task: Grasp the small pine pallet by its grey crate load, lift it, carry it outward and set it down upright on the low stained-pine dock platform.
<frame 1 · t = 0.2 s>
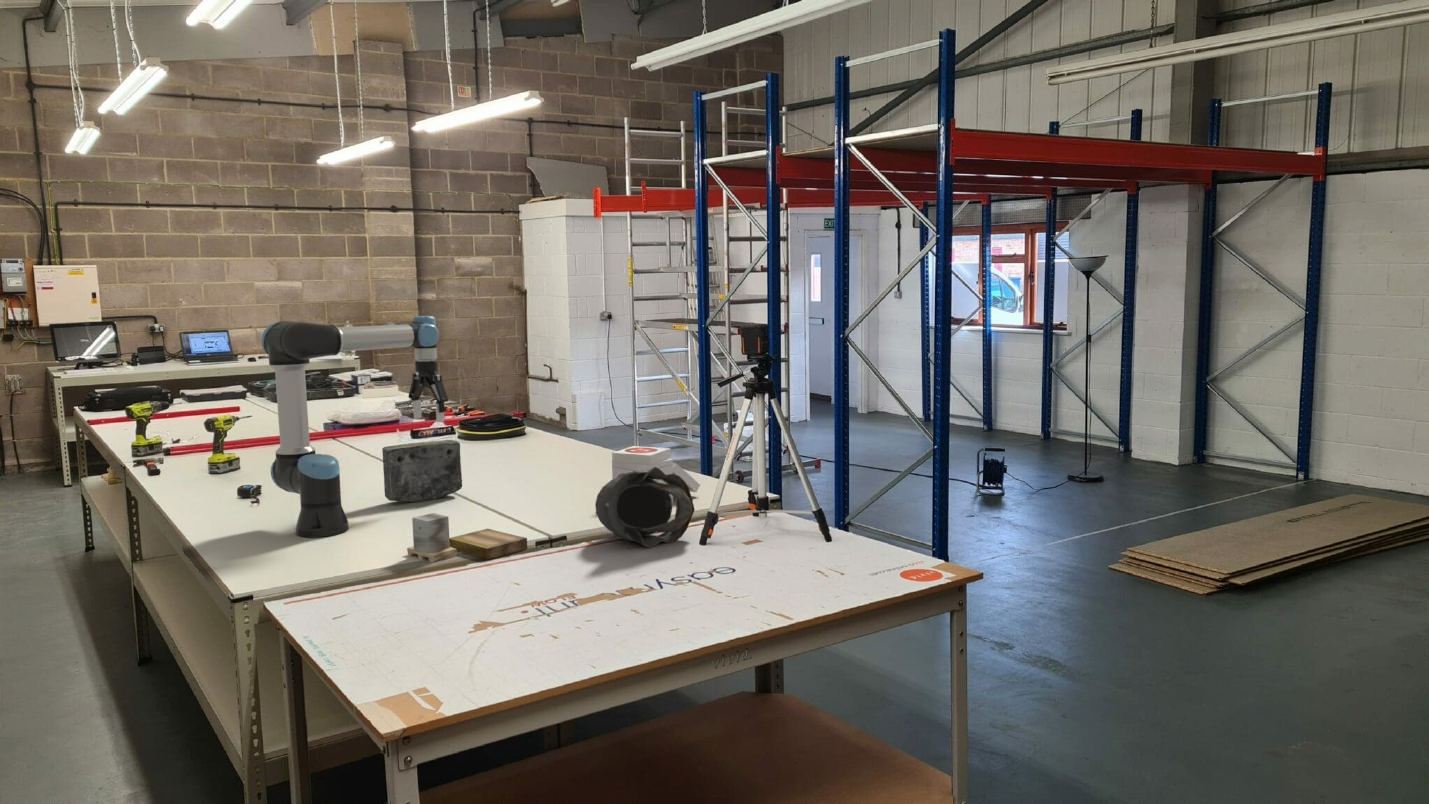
hand: (428, 420, 346), 28 cm above the table, fingers open, 13 cm apart
concrete block: (423, 500, 346), on the table
helmet: (640, 539, 291), on the table
pizza boxes: (654, 499, 344), on the table
dock: (488, 548, 282), on the table
loaded pallet: (432, 555, 276), on the table
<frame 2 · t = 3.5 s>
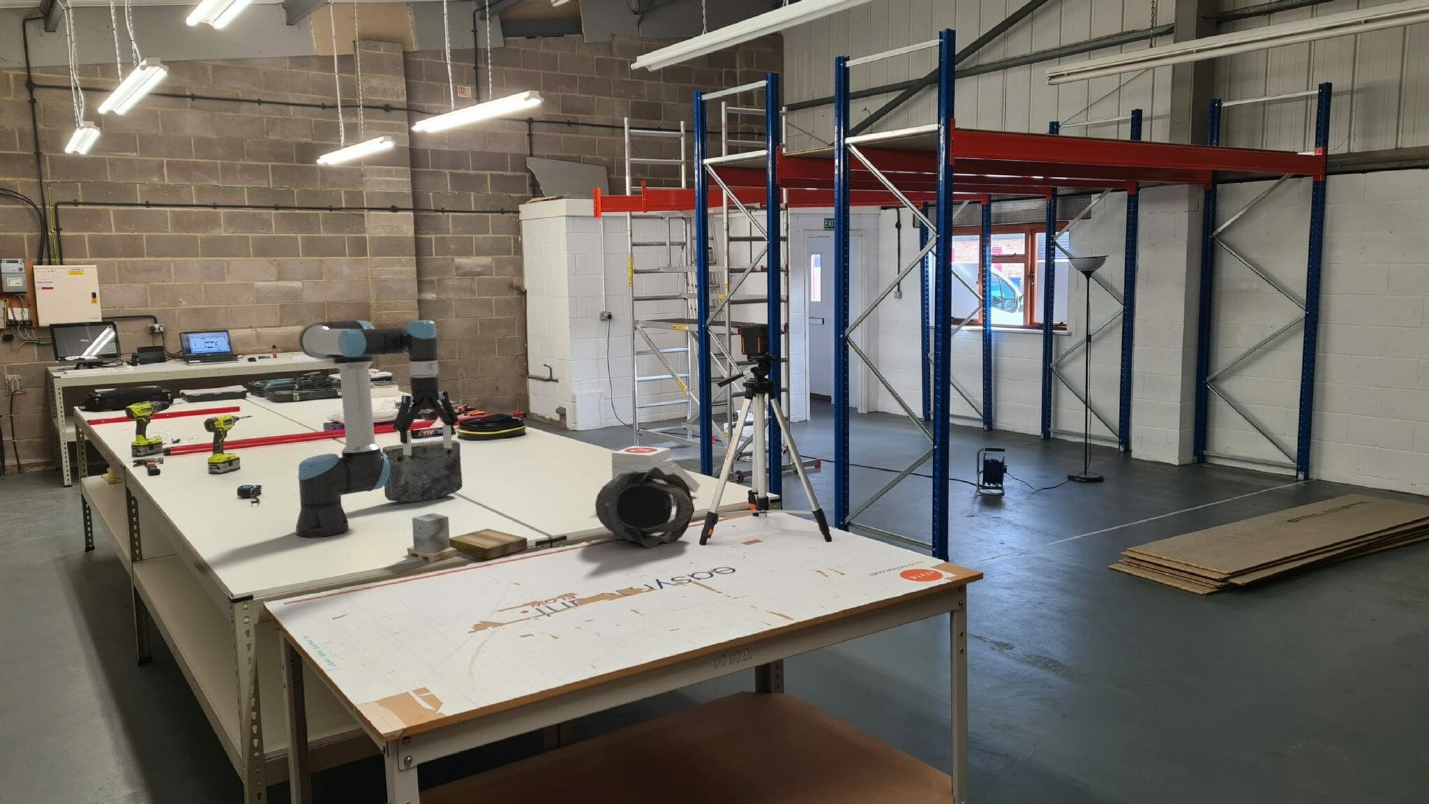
hand: (428, 451, 275), 29 cm above the table, fingers open, 13 cm apart
nothing on the table moved.
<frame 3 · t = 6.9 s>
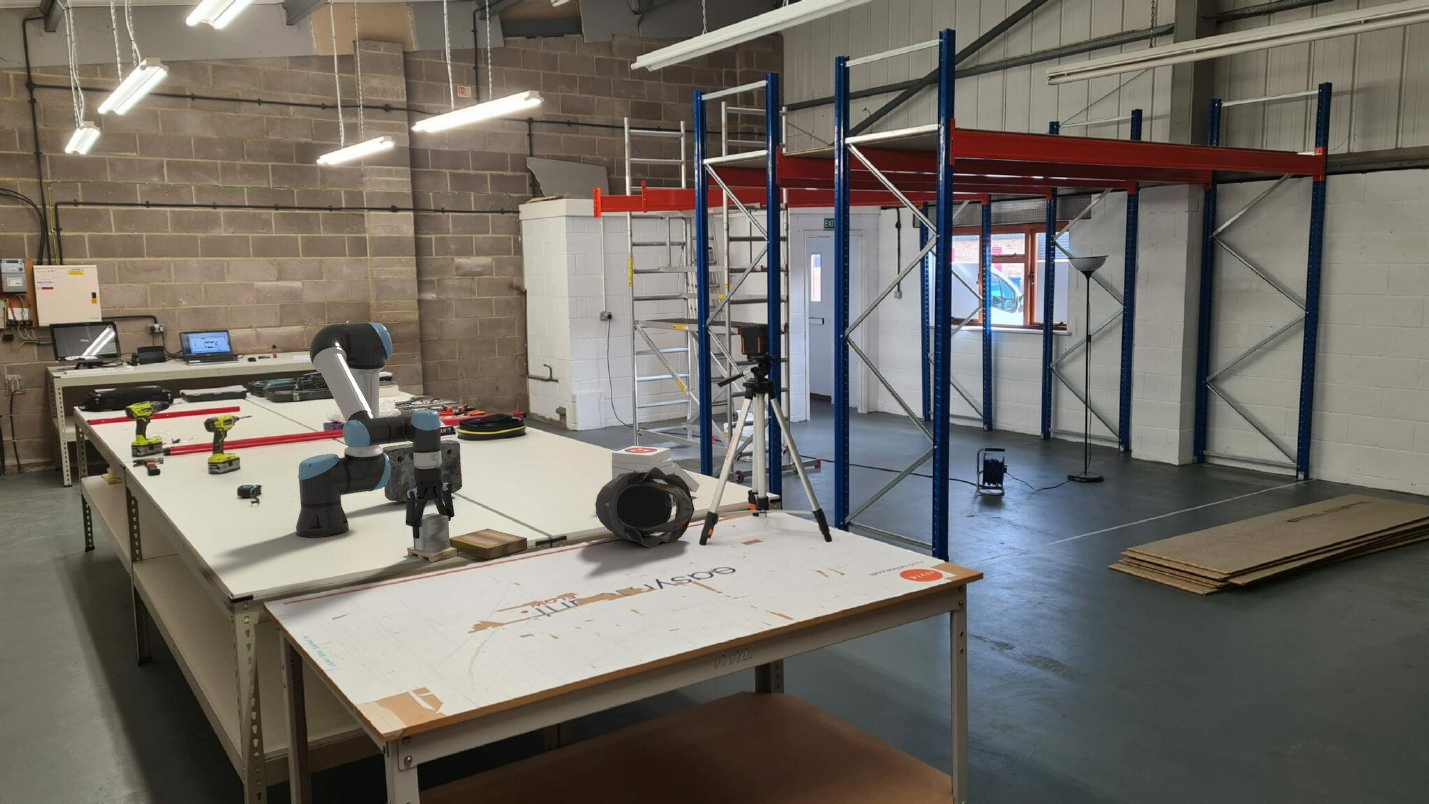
hand: (431, 546, 276), 3 cm above the table, fingers closed on loaded pallet, 7 cm apart
loaded pallet: (432, 555, 276), on the table, touching gripper
everything else where it was.
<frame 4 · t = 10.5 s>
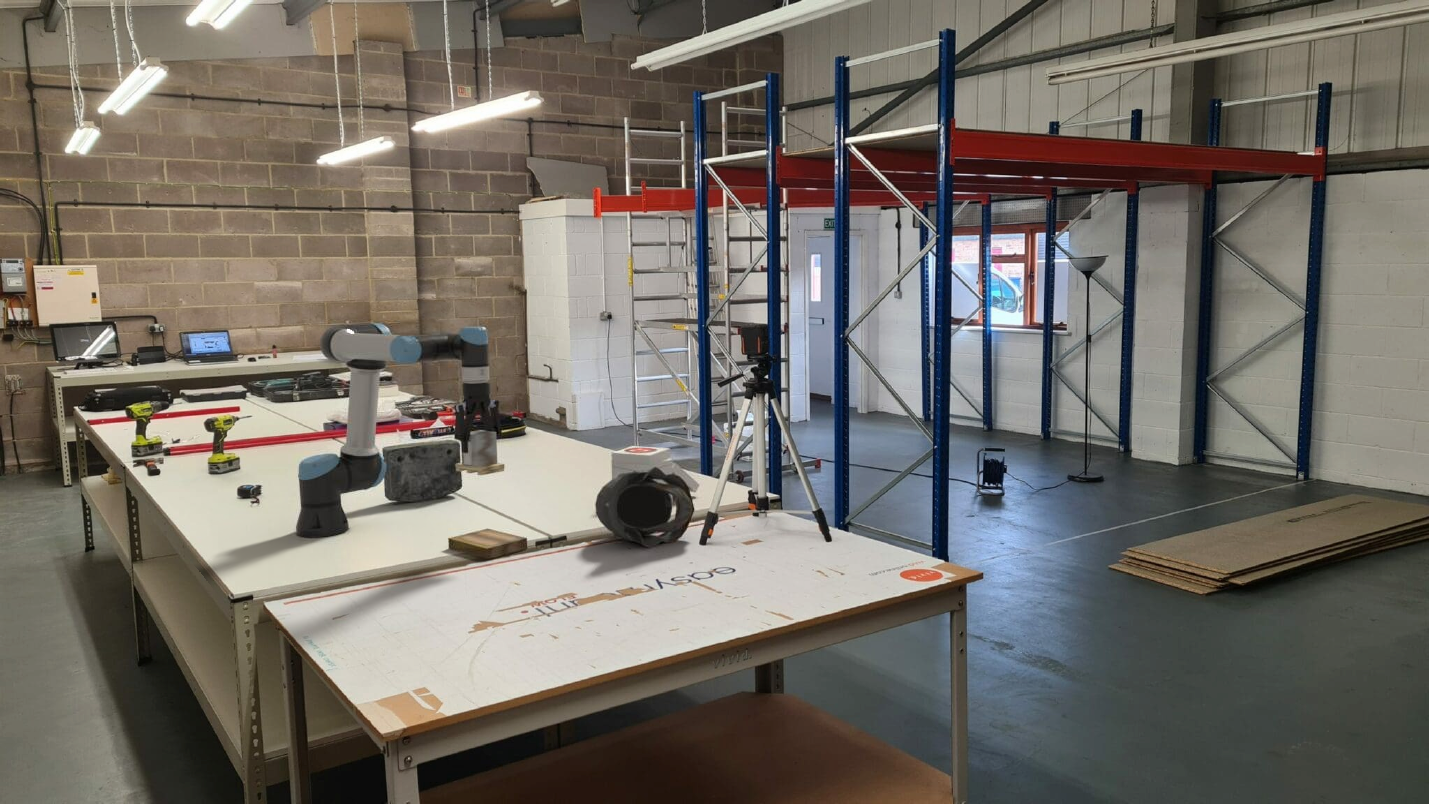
hand: (479, 461, 278), 26 cm above the table, fingers closed on loaded pallet, 7 cm apart
loaded pallet: (480, 470, 279), point 23 cm above the table, touching gripper
everything else where it was.
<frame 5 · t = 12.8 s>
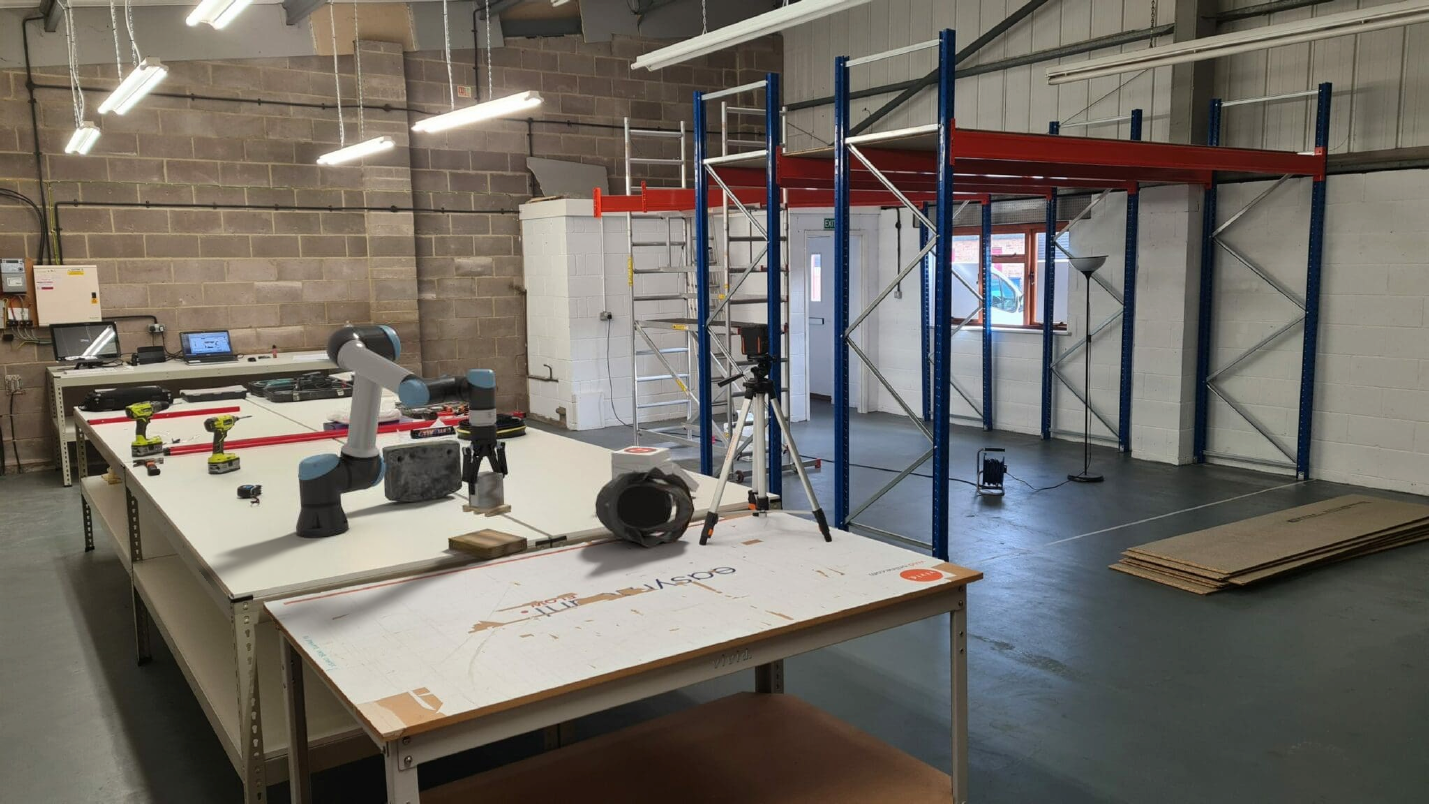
hand: (486, 503, 281), 13 cm above the table, fingers closed on loaded pallet, 7 cm apart
loaded pallet: (486, 511, 281), point 11 cm above the table, touching gripper
everything else where it was.
when the fingers open (7 cm above the table, at t = 14.4 s): loaded pallet drops 2 cm, resting on dock.
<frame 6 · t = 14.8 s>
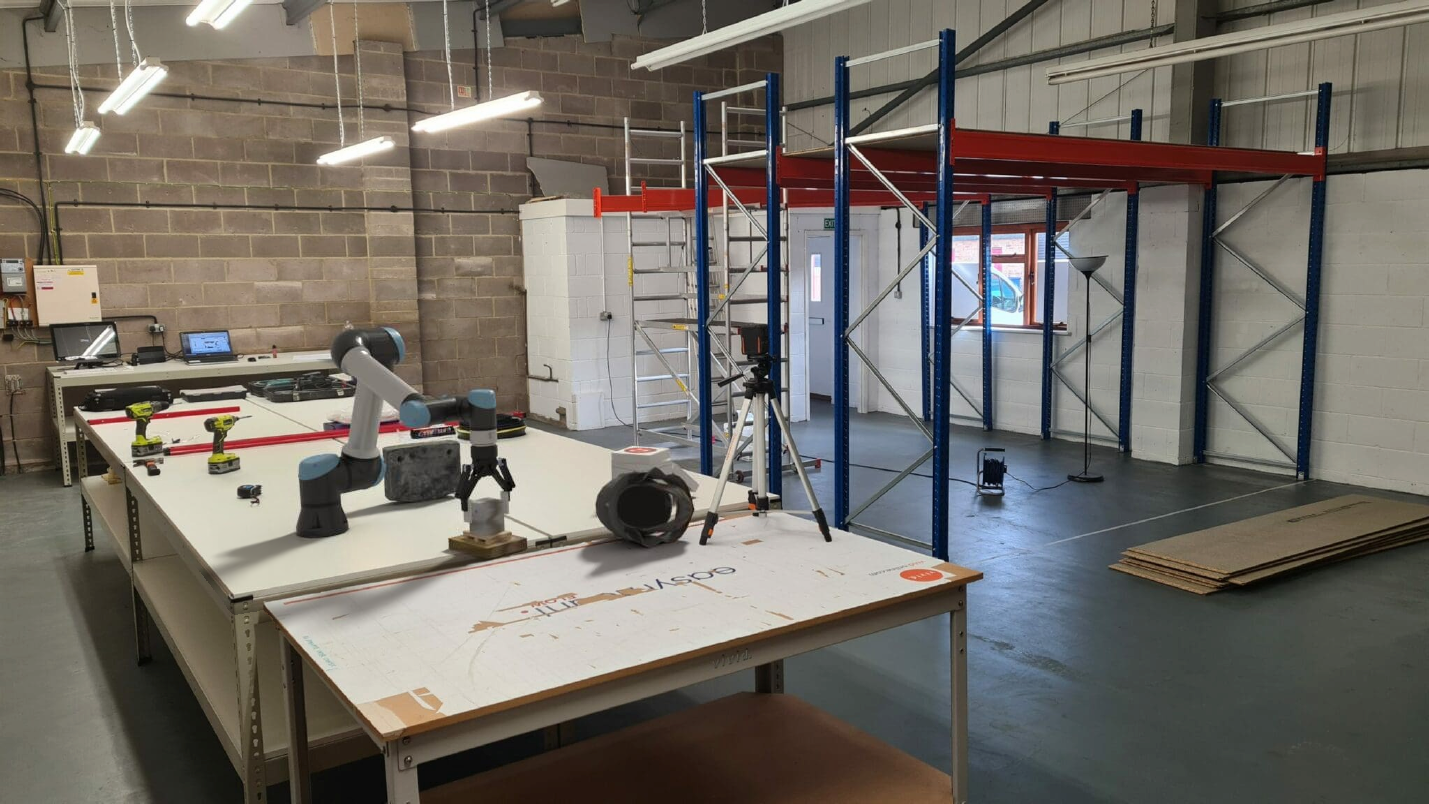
hand: (486, 517, 281), 9 cm above the table, fingers open, 12 cm apart
loaded pallet: (487, 538, 282), point 3 cm above the table, touching dock
everything else where it was.
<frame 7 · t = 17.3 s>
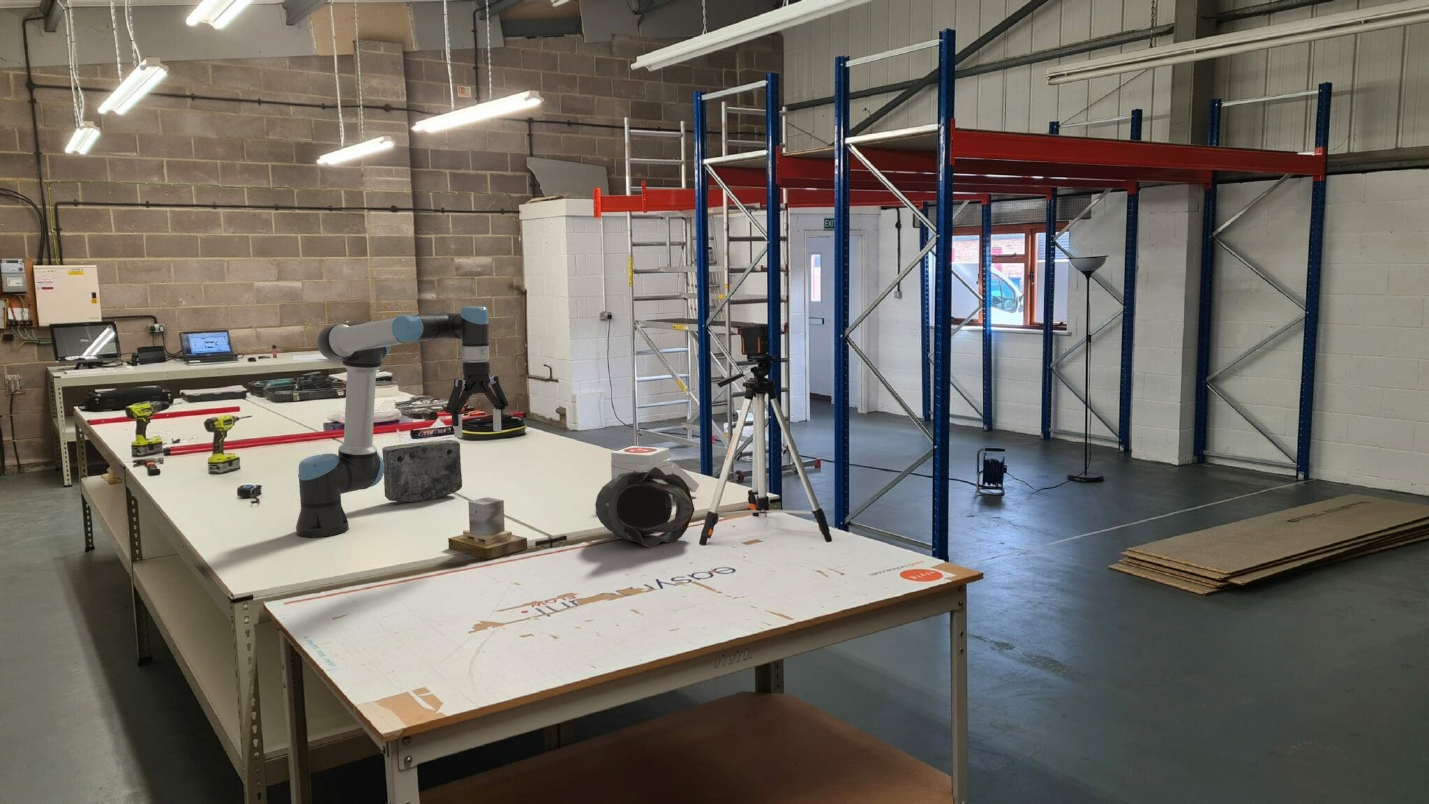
hand: (478, 434, 282), 33 cm above the table, fingers open, 13 cm apart
nothing on the table moved.
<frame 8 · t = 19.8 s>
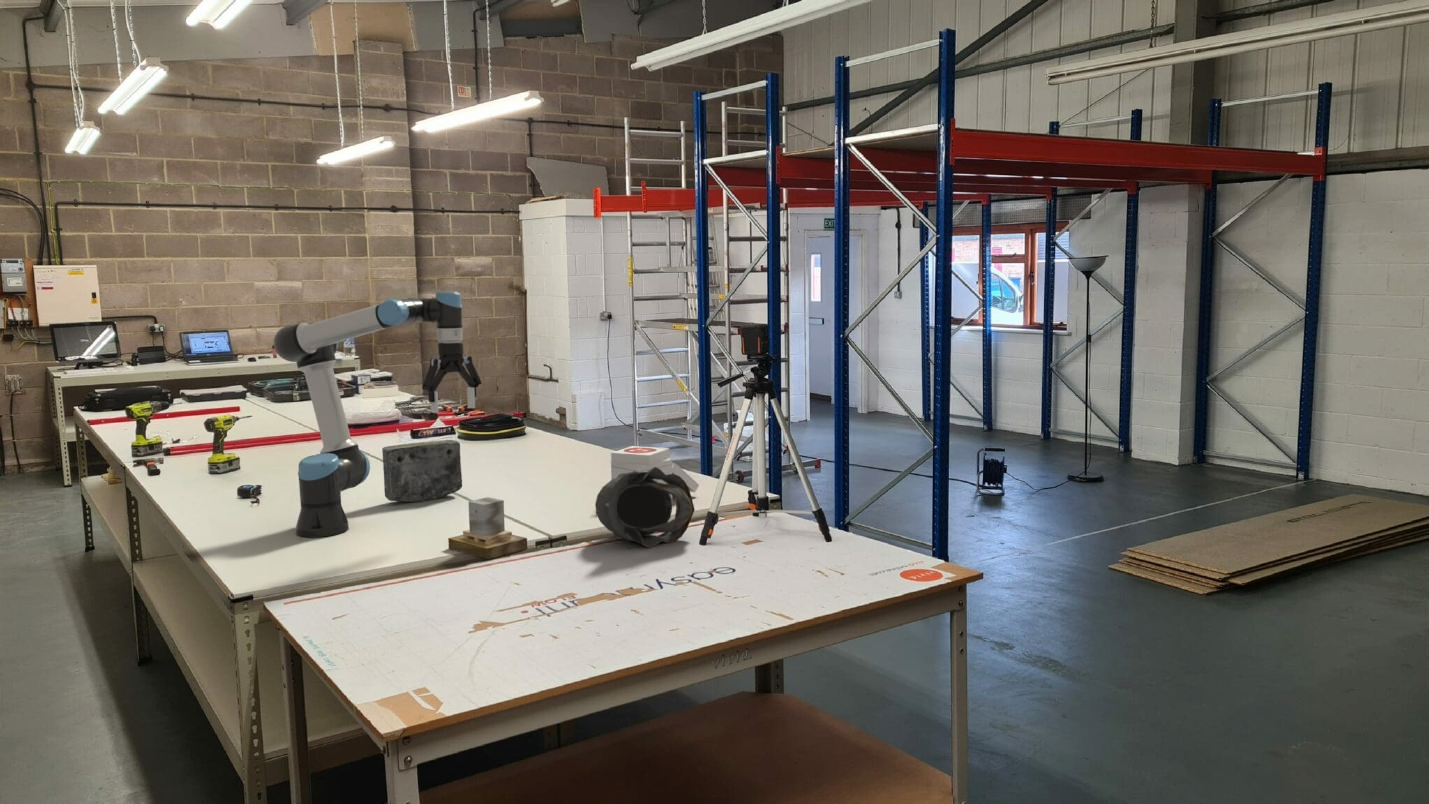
hand: (453, 410, 305), 37 cm above the table, fingers open, 13 cm apart
nothing on the table moved.
at the end: loaded pallet inside the target area on the dock (0.0 cm from its centre), point 3.0 cm above the dock's base; loaded pallet tilted 0°; loaded pallet touching dock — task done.
